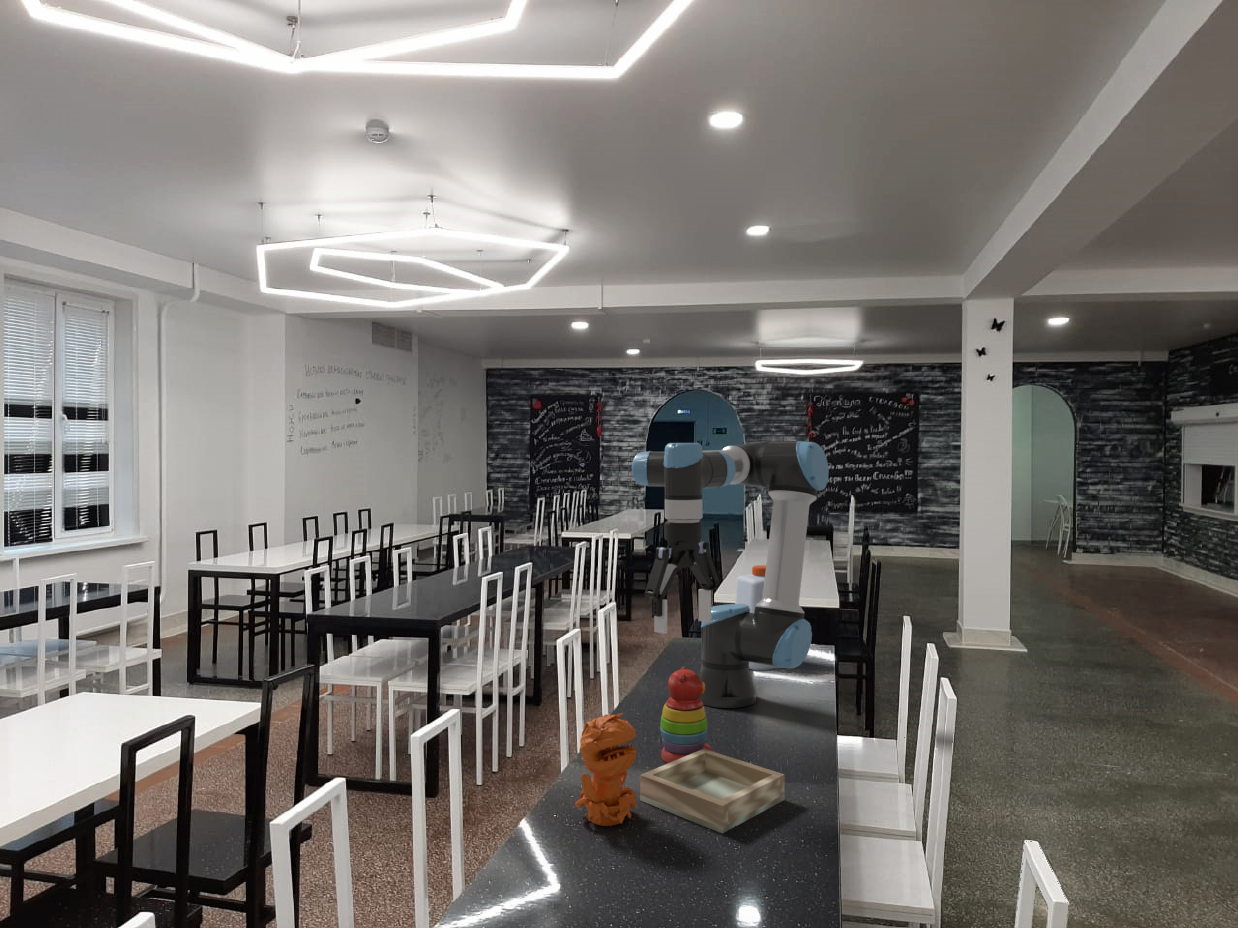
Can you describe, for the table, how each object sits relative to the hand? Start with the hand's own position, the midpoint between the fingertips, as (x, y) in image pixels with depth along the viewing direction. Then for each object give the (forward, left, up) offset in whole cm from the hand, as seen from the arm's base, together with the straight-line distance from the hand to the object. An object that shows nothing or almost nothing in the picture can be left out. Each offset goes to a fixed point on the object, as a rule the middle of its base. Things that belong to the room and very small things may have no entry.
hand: (683, 627), depth 166 cm
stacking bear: (0, 0, -27) cm, 27 cm away
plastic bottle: (-72, -31, -27) cm, 83 cm away
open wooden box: (+12, +16, -26) cm, 33 cm away
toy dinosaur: (+30, +8, -27) cm, 41 cm away
